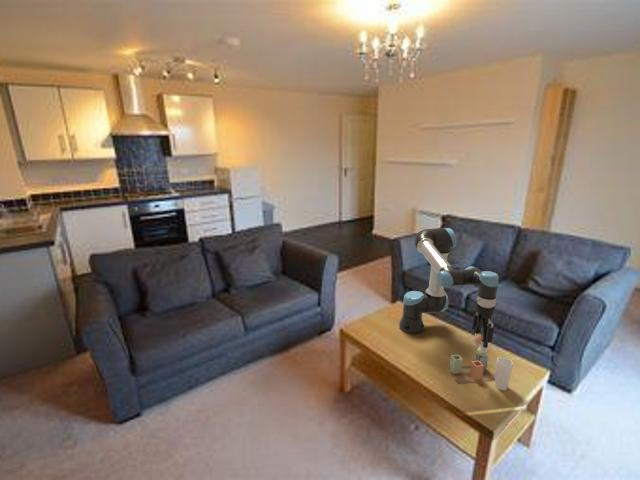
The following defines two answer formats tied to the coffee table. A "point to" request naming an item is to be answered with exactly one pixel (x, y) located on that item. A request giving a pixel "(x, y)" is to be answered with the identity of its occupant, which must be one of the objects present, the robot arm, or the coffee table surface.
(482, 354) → the sage ball
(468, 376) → the board
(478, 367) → the terracotta tube
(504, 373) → the drinking glass
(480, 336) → the terracotta ball
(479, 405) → the coffee table surface
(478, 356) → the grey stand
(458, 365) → the sage tube
